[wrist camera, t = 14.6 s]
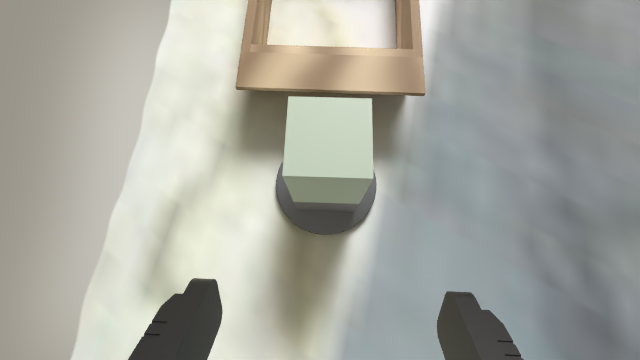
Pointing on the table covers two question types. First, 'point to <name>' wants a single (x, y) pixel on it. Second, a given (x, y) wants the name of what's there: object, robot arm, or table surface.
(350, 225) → the slate mat
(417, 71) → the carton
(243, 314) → the table surface
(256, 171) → the table surface
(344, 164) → the box
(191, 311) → the robot arm
